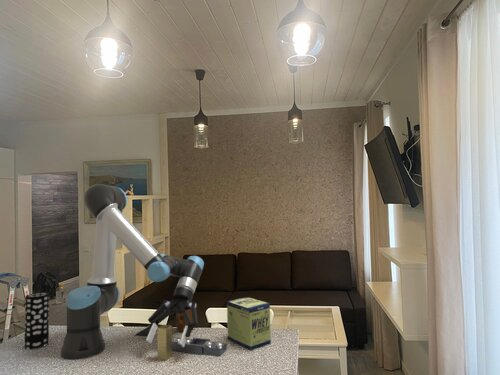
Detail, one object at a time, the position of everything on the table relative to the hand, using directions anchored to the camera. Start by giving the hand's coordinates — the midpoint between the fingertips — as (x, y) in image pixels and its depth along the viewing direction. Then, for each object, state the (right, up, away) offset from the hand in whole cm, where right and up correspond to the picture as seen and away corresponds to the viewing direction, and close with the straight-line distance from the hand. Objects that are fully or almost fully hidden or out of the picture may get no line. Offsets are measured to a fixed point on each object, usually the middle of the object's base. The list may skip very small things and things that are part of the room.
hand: (164, 343), depth 124 cm
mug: (+1, -8, +29) cm, 30 cm away
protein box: (+30, -6, +15) cm, 34 cm away
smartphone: (-13, -9, +29) cm, 34 cm away
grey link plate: (+11, -6, +7) cm, 14 cm away
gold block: (0, -6, +1) cm, 5 cm away
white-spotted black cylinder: (-56, -8, +16) cm, 59 cm away
